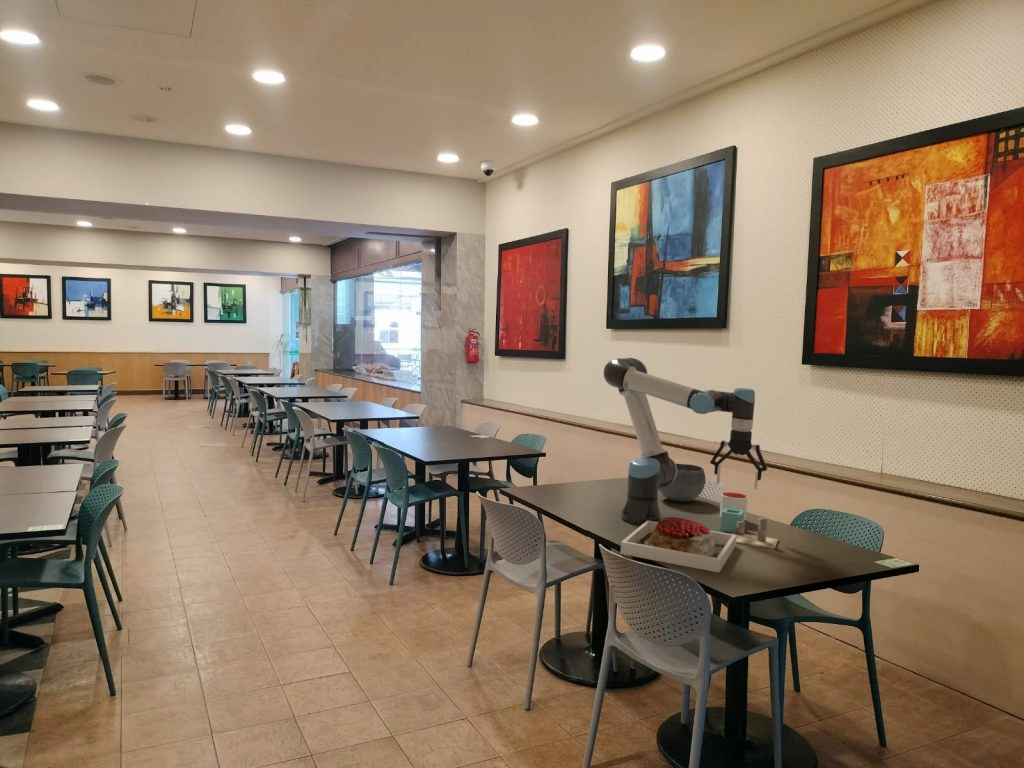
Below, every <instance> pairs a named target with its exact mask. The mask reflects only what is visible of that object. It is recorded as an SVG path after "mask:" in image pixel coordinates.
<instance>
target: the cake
mask: <svg viewBox="0 0 1024 768" xmlns="http://www.w3.org/2000/svg"><path fill="white" fill-rule="evenodd" d="M711 531H712V530H710V528H708V527H707V526H705V525H703V524H701V523H699V522H697V521H694V520H691V519H686V518H683V517H676V516H671V517H666V518H663V519H661V521H660V522H659V523H658V524H657V525H656V527H655V530H654V531H653V533H651V535H650V536H649V537H648V538H646V539H645V540H644V541H643V545H647V546H653V547H659V548H664V549H670V550H675V551H681V552H686V553H692V554H697V555H703V556H708V557H714V556H715V554H716V544H715V543H714V537H713V534H712V532H711ZM637 541H638V540H637ZM641 542H642V539H640V541H639V544H642V543H641Z"/></svg>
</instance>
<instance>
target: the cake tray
mask: <svg viewBox="0 0 1024 768" xmlns="http://www.w3.org/2000/svg"><path fill="white" fill-rule="evenodd" d="M658 523H659V522H654V521H648V520H647V521H646V522H645V523H644V524H640V526H638V528H635V530H634V531H633V532H631V533H630V534H629V535H628V536H626V537H625V538H624V539H622V540H621V542H620V555H625V556H629V557H635V558H641V559H645V560H650V561H655V562H662V563H667V564H672V565H677V566H682V567H688V568H693V569H698V570H699V569H700V570H704V571H708V572H714V573H720V572H721V571H722V569H723V567H724V566H725V564H726V563H727V561H728V559H729V558H730V556H731V554H732V553H733V551H734V550H735V548H736V544H737V543H736V535H733V534H731V533H726V532H722V531H721V532H720V531H715V530H710V531H711V532H712V534H713V537H714V543H715V545H720V546H724V547H723V548H722V549H721V551H720V552H719V554H718V555H717V557H714V556H712V557H708V556H703V555H697V554H692V553H686V552H681V551H675V550H670V549H664V548H659V547H653V546H647V545H644V544H642V543H640V539H641V540H642V539H643V538H645V537H646V536H647V535H648V534H652V533H653V531H654V530H655V527H656V525H657V524H658ZM637 540H638V541H637Z"/></svg>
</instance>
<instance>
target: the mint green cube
mask: <svg viewBox="0 0 1024 768" xmlns="http://www.w3.org/2000/svg"><path fill="white" fill-rule="evenodd" d="M743 519H744V511H742V510H735V509H728V508H725V509H724V510H723V511H722V516H721V517H720V520H721V521H720V531H721V532H722V531H723V532H728V533H732V532H736V529H737V521H742V522H743Z"/></svg>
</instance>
